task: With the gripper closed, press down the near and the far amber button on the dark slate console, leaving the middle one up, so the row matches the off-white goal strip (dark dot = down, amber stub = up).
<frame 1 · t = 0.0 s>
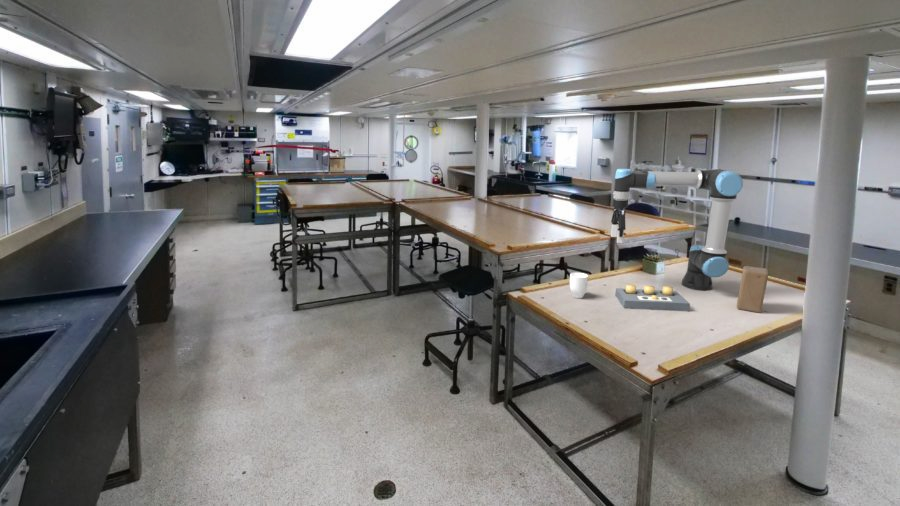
hand: (616, 239, 244), 28 cm above the table, fingers open, 13 cm apart
button middle: (649, 290, 235), point 5 cm above the table, slide at 0.0 cm
wooden block: (748, 308, 227), on the table
mug: (576, 296, 242), on the table
button far: (630, 290, 236), point 5 cm above the table, slide at 0.0 cm
console: (650, 303, 233), on the table
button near: (667, 291, 234), point 5 cm above the table, slide at 0.0 cm
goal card: (654, 299, 227), resting on console
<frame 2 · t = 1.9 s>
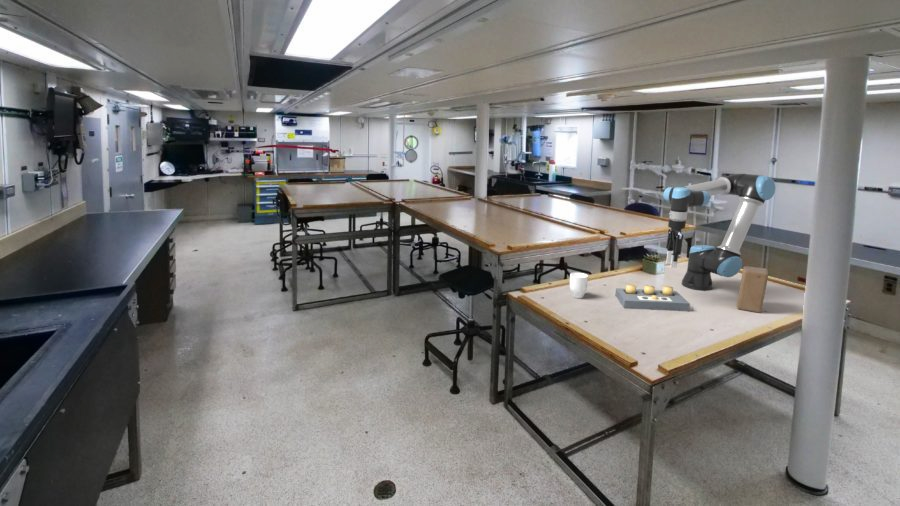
hand: (671, 265, 231), 19 cm above the table, fingers open, 6 cm apart
nothing on the table moved.
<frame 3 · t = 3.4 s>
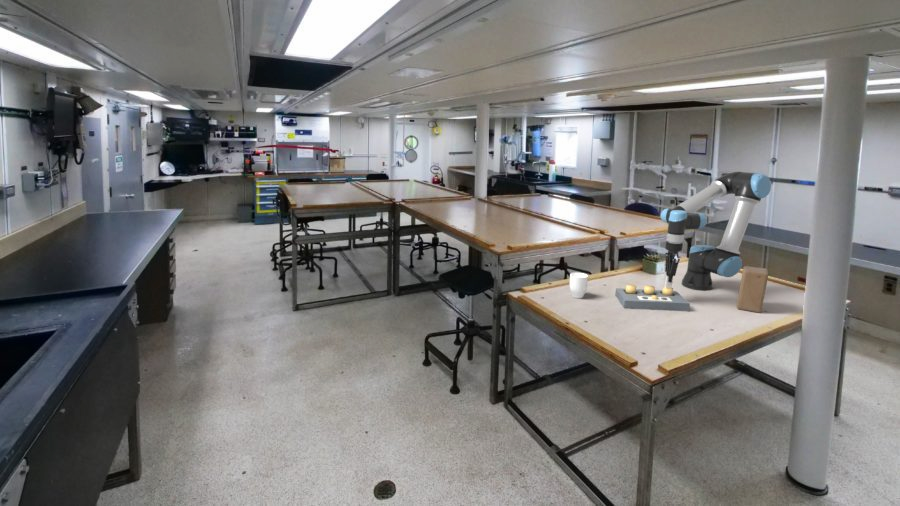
hand: (668, 287, 234), 7 cm above the table, fingers closed
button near: (667, 292, 234), point 5 cm above the table, slide at 0.2 cm, touching gripper
everything else where it was.
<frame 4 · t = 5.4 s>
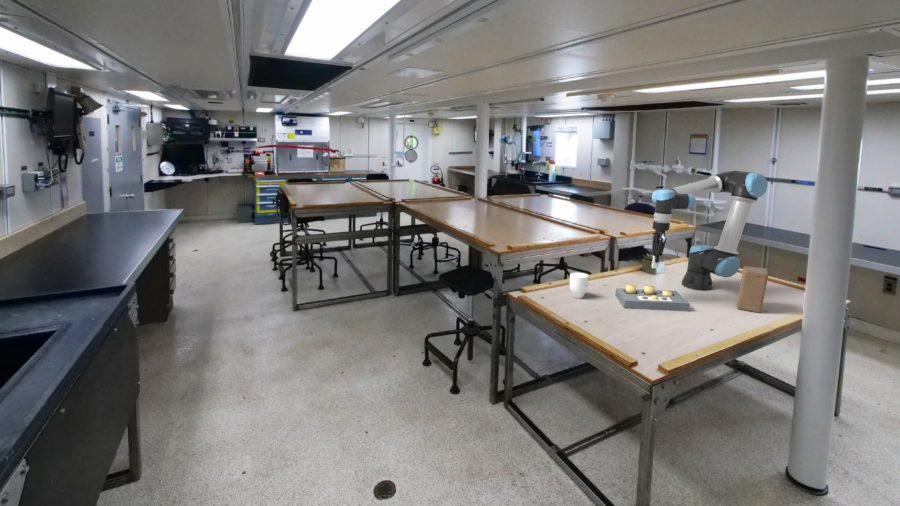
hand: (654, 268, 232), 17 cm above the table, fingers closed
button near: (667, 295, 235), point 3 cm above the table, slide at 2.2 cm
everything else where it was.
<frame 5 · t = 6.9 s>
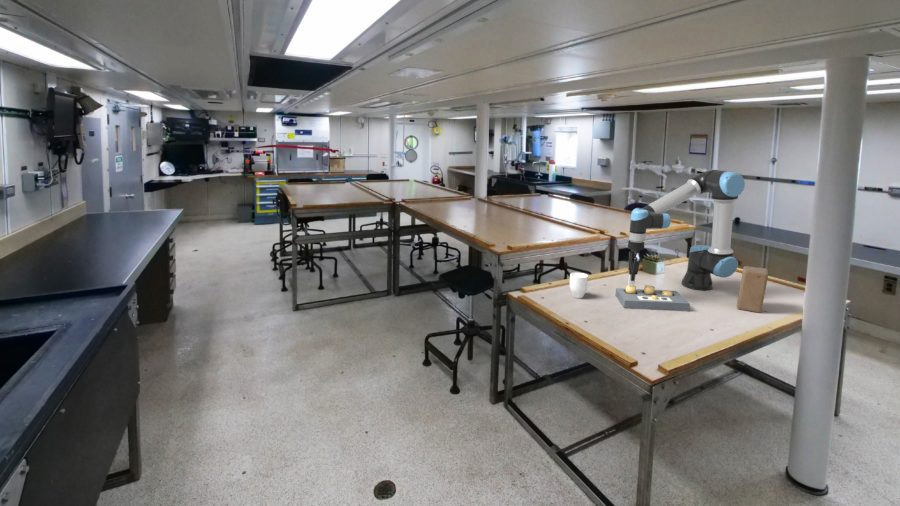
hand: (631, 286, 236), 7 cm above the table, fingers closed
button far: (630, 290, 236), point 5 cm above the table, slide at 0.3 cm, touching gripper
everything else where it was.
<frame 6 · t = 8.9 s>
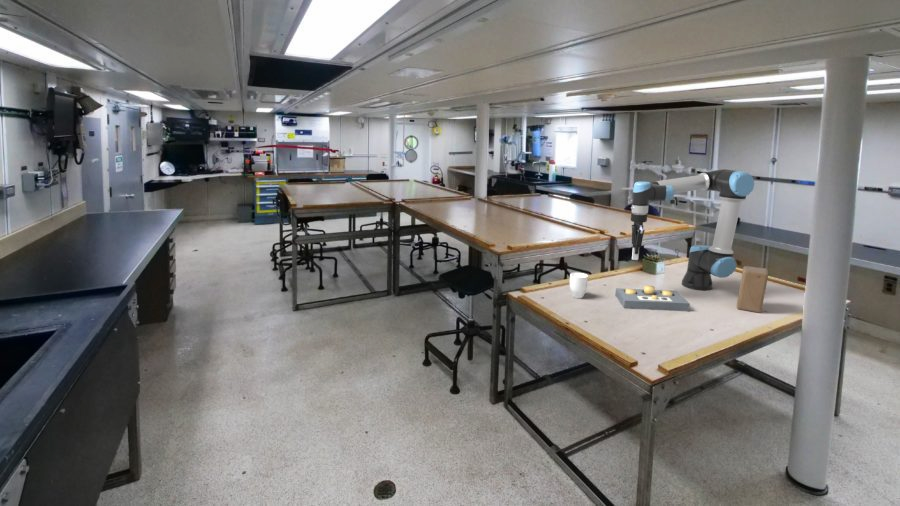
hand: (634, 259, 235), 20 cm above the table, fingers closed
button far: (630, 294, 237), point 3 cm above the table, slide at 2.2 cm
everything else where it was.
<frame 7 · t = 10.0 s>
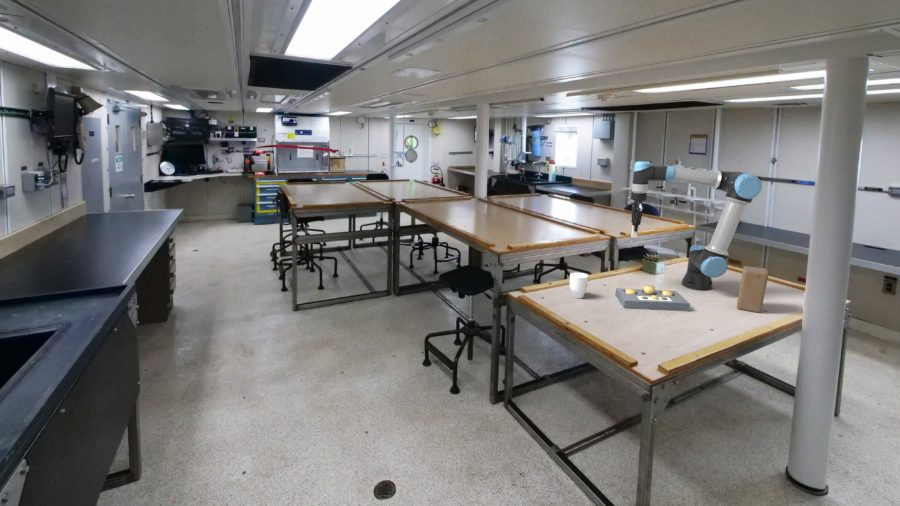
hand: (634, 237, 244), 29 cm above the table, fingers closed
nothing on the table moved.
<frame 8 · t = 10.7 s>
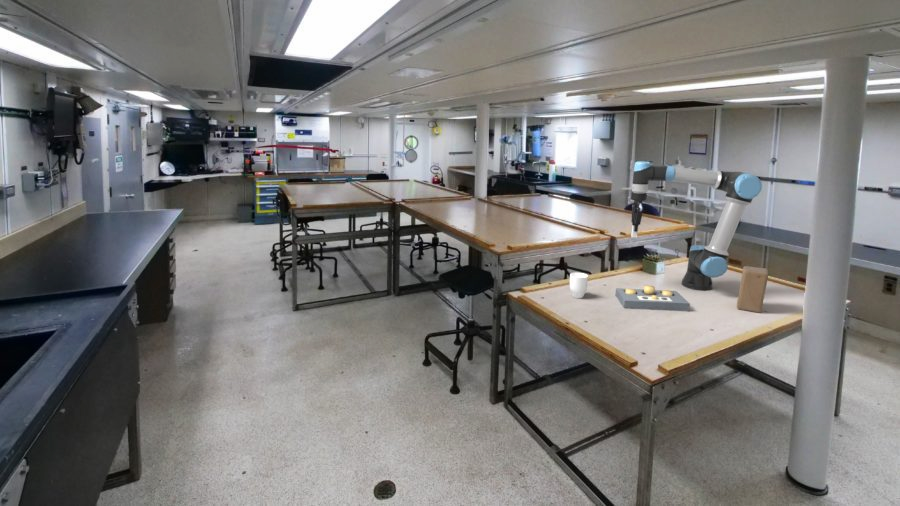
hand: (634, 237, 244), 29 cm above the table, fingers closed
nothing on the table moved.
at the end: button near slide at 2.2 cm; button far slide at 2.2 cm; button middle slide at 0.0 cm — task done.
